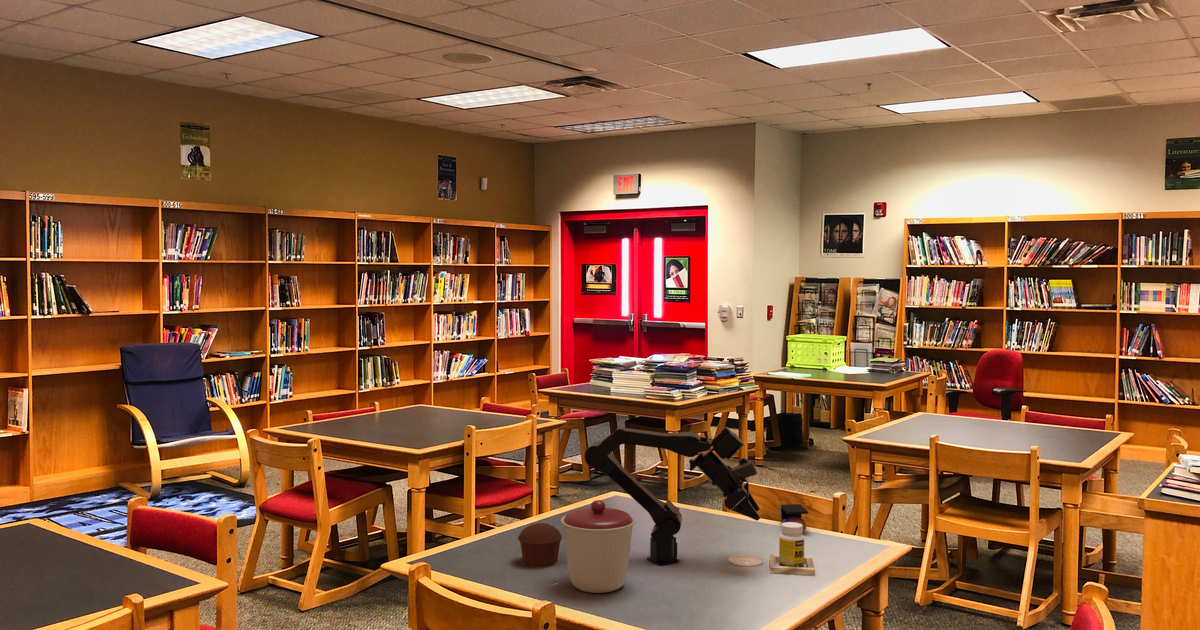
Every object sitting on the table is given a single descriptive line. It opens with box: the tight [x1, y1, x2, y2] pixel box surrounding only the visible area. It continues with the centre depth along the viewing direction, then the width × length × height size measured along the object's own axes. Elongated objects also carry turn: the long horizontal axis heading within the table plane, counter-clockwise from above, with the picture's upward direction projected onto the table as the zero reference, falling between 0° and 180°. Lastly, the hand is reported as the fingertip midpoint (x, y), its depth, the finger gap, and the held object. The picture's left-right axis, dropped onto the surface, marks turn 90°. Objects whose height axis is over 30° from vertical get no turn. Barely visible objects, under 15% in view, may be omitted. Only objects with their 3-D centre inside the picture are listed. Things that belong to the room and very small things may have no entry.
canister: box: [560, 499, 636, 594], centre depth 220 cm, size 18×18×21 cm
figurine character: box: [778, 503, 809, 533], centre depth 272 cm, size 7×8×15 cm
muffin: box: [517, 522, 563, 568], centre depth 239 cm, size 12×11×10 cm
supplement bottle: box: [778, 522, 805, 567], centre depth 235 cm, size 6×6×11 cm
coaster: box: [728, 553, 764, 568], centre depth 241 cm, size 9×9×1 cm
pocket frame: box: [769, 554, 816, 577], centre depth 236 cm, size 11×11×2 cm
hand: (758, 514), depth 236 cm, fingers open, 9 cm apart
